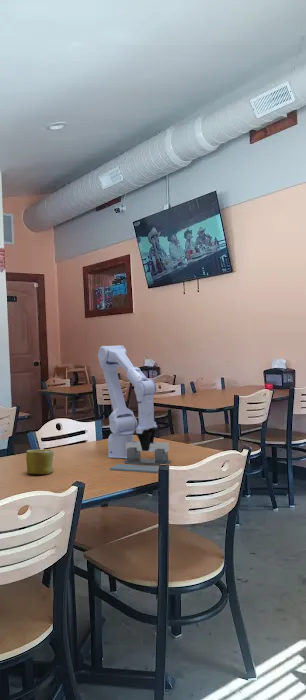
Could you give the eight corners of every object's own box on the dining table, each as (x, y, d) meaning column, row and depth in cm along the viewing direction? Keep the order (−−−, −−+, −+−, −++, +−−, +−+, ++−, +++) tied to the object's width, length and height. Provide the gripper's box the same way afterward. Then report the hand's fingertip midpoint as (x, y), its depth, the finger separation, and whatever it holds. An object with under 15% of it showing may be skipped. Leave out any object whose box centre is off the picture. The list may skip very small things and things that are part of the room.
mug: (41, 473, 192) (38, 443, 195) (21, 479, 197) (18, 450, 200) (67, 472, 201) (63, 444, 204) (46, 478, 207) (43, 451, 210)
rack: (124, 463, 211) (124, 448, 210) (131, 459, 216) (130, 445, 216) (165, 465, 205) (164, 450, 205) (170, 462, 210) (170, 447, 210)
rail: (125, 450, 212) (125, 442, 212) (129, 448, 215) (128, 440, 215) (166, 452, 206) (165, 444, 206) (168, 450, 209) (168, 442, 209)
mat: (109, 469, 201) (109, 468, 201) (118, 465, 208) (118, 463, 208) (157, 473, 195) (157, 471, 195) (164, 468, 201) (164, 466, 201)
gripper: (148, 416, 202) (149, 454, 202) (163, 410, 215) (164, 446, 216) (130, 415, 204) (131, 453, 205) (145, 410, 218) (146, 445, 218)
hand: (147, 449), depth 210 cm, fingers closed on rail, 3 cm apart
